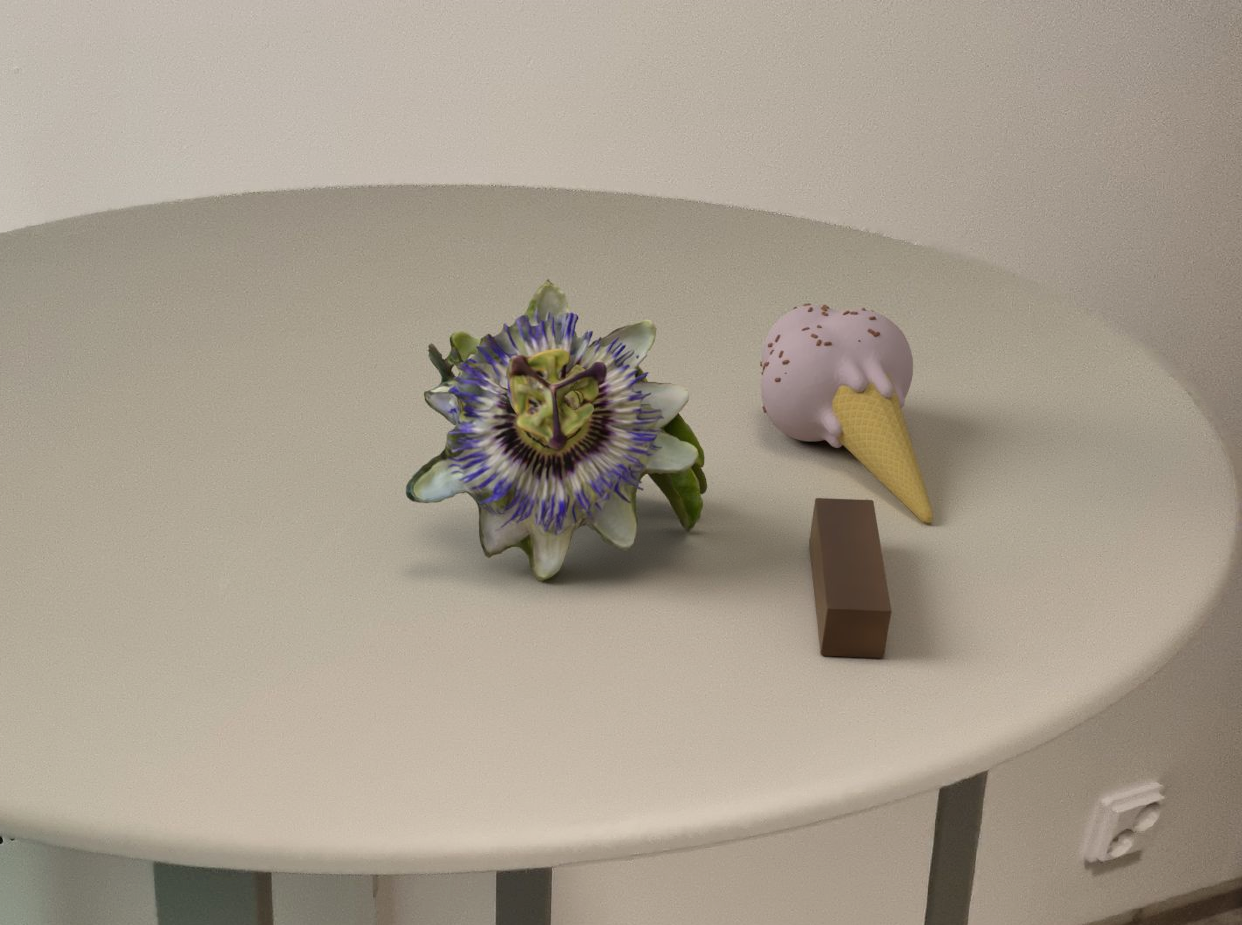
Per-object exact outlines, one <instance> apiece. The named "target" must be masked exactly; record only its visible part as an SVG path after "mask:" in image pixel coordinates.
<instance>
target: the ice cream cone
mask: <svg viewBox="0 0 1242 925" xmlns="http://www.w3.org/2000/svg"><path fill="white" fill-rule="evenodd" d="M910 346H911V345H910V344H909V342H908V339H907V338H906V335H905V334H904V332H903V331H902V330H901V328H900V327H899V326H898V324H896V323H895V322H893V321H892V320H890V319H889V318H888V317H886V316H885V315H883V314H881V313H879V312H876V311H874V310H867V309H866V308H865V307H862V308H861V309H850V310H844V311H838V310H835V309H833V308H831V307H829V306H828V305H827V304H823V305H817V304H811V303H809V302H808V303H804V304H803V305H802V306H799V307H797V306H793V308H792V310H790V311H788V312H786V313H785V314H784V315H782V316H781V317H780V318H779V319H778V320H777V321H776V322H775V323H774V324H773V326H772V327H771V329H770V330H769V332H768V333H767V336H766V338H765V340H764V343H763V347H762V352H761V360H760V363H759V366H760V367H762V371H761V380H760V394H761V401H762V410H763V413H764V414H766V415H767V417H768V419H769V420H770V422H771V423H772V424H773V425H774V426H775V428H777V430H779V431H780V432H781V433H782V434H784V435H785V436H787V437H790V438H791V439H795V440H798V441H800V442H801V441H802V442H822V441H826V442H827V443H828V444H829V445H830V446H831V447H833V448H835V449H839V448H841V447H842V446H844V448H846V450H847V451H849V452H850V453H851V454H852V455H853V456H854V457H855V458H856V459H857V460H858V461H859V462H860V463H861V464H862V465H863V466H864V467H865V468H866V469H867V470H868V471H869V472H870V473H872V475H873V476H875V478H877V479H878V481H880V482H881V483H882V484H883V485H884V487H886V488H887V489H888V490H889V491H890V492H891V493H892V494H893V495H894V496H895V497H896V498H897V499H898V500H899V501H900V502H901V503H902V504H903V505H904V506H905V507H906V508H908V510H909V511H910V512H912V513H913V514H914V515H915V516H916V517H917V518H918V519H919V520H920V521H921V522H923V523H925V524H930V523H931V522H932V521H933V519H934V513H933V509H932V506H931V502H930V499H929V496H928V493H927V489H926V486H925V483H924V479H923V476H922V472H921V470H920V467H919V463H918V459H917V456H916V453H915V449H914V446H913V443H912V439H911V437H910V433H909V430H908V427H907V423H906V420H905V417H904V413H903V408H904V406H905V400H906V397H907V395H908V394H909V390H910V388H911V384H912V381H913V374H914V358H913V354H912V353H913V352H912V350H911V347H910Z"/></svg>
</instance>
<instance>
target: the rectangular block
mask: <svg viewBox="0 0 1242 925" xmlns="http://www.w3.org/2000/svg"><path fill="white" fill-rule="evenodd" d="M808 543H809V553H810V563H811V571H812V581H813V584H812V585H813V592H814V604H815V614H816V623H817V624H816V625H817V633H818V634H817V635H818V643H819V654H820V656H827V657H828V656H829V657H847V658H849V657H850V658H869V659H870V658H872V659H883V658H884V657H885V653H886V645H887V641H888V635H889V630H890V629H889V628H890V622H891V617H892V606H891V600H890V594H889V588H888V582H887V574H886V569H885V562H884V555H883V551H882V546H881V538H880V532H879V526H878V520H877V514H876V507H875V502H874V500H873V499H855V498H854V499H852V498H828V497H827V498H826V497H825V498H824V497H816V498H815V499H814V505H813V512H812V519H811V526H810V533H809V541H808Z"/></svg>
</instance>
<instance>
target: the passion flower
mask: <svg viewBox="0 0 1242 925" xmlns="http://www.w3.org/2000/svg"><path fill="white" fill-rule="evenodd" d="M534 292H535V293H534V294H533V296H532V297H531V299H530V301H529V303H528V306H527V308H526V310H525V312H524V313H523V314H522V315H520V316H518V317H517V318H515V319H514V322H513V323H511V324H510V325H507V323H506V322H504V323H503V325H502V329H501V331H500V332H499V333H498V334H496V335H492V334H491V333H487V334H486V335H484V336H483V337H478V336H474V335H471V334H470V333H468V332H465V331H463V330H461V331H456V332H453V333H452V334H451V336H449V344H450V351H449V354H448V355H447V356H446V357H445V358H443V355H442V353H441V352H440V351H439V350H438V348H437V347H436V346H435V344H434V343H432V342H431V343H429V344H428V345H427V346H428V349H427V352H428V355H427V356H428V358H429V360H430V362H431V363H432V365H433V366H434V367H435V368H436V370H437V372H438V373H439V374H440V377H441V381H440V383H439V384H438V385H437V386H435V387H434V388H433V389H429V390H425V391H424V392H423V397H424V401H425V403H426V404H427V405H428V407H429V408H431V409H432V410H434V411H435V412H436V413H438V414H440V415H441V416H442V417H443V418H445V420H446V421H448V422H449V423H451V424H452V425H453V426H454V427H453V429H451V430H448V432H447V433H446V442H445V446H444V449H443V450H442V451H441V452H440V453H439V454H438V455H436V456H434V457H432V458H431V459H430V460H429V461H427V462H426V463H425V464H423V465H422V466H421V467H420V468H419V469H418V470H417V471H416V472H414V474H413V475H412V476H411V478H410V479H409V480H408V482H407V484H405V485H406V486H405V495H406V498H407V499H409V500H410V501H411V502H414V503H415V502H416V503H419V504H420V503H421V504H431V503H435V504H436V503H441V502H443V501H444V500H447V499H451V498H454V497H455V496H456V495H459V494H463V495H464V494H468V495H469V496H470V497H472V499H473V500H474V501H475V503H476V505H477V509H478V537H479V542H480V547H481V549H482V552H483V554H484V556H485V557H486V558H488V559H490V558H491V557H492V556H495V555H501V554H502V553H503V552H505V551H506V550H508V549H510V548H511V549H512V548H519V549H520V550H521V551H523V552H524V554H525V555H526V556H527V558H528V561H529V562H528V563H529V567H530V570H531V572H532V573H533V575H534V577H535V578H536V579H537V580H538V581H546V580H549V579H550V578H552V577H554V576H555V575H556V574H557V573H559V571H560V570H561V568H562V566H563V564H564V561H565V559H566V556H567V553H568V551H569V549H570V545H571V541H572V538H573V535H574V533H576V531H577V530H578V529H580V528H581V527H585V526H588V528H590V529H591V530H593V531H595V532H596V533H597V534H598V535H599V537H600V538H601V540H602V541H603V542H605V543H606V544H608V545H609V546H613V547H615V548H617V549H619V550H622V551H628V550H629V549H630V548H631V547H632V546H633V545H634V543H635V541H636V540H635V539H636V535H637V531H638V526H639V521H638V520H639V519H638V514H637V513H638V512H637V506H636V504H637V502H636V501H637V500H636V499H637V491H638V490H639V491H641V492H642V491H643V492H644V488H643V487H641V486H639V484H640V485H642V483H643V481H642V478H643V477H645V476H646V475H647V476H648V477H649V478H650V479H651V480H652V481H653V483H654V484H655V485H656V487H658V489H659V490H660V491H661V493H663V495H664V496H665V497H666V499H667V500H668V502H669V504H670V506H671V508H672V510H673V511H674V512H673V513H675V515H676V517H677V519H678V521H679V524H680V525H681V527H682V528H683V529H686V530H687V532H690V531H691V530H692V529H693V528H694V527H695V525H696V524H697V522H698V521H699V519H700V518H701V513H702V511H703V510H702V509H703V506H704V500H703V498H702V495H704V494H705V493H706V492H707V489H708V484H707V482H708V481H707V476H706V475H705V474H706V473H705V472H704V471H703V469H702V468H704V466H705V452H704V449H703V447H702V446H701V444H700V442H699V440H698V437H697V436H696V434H695V433H694V431H693V429H692V428H691V426H690V425H689V424H688V423H686V421H685V420H684V418H683V417H682V416H681V414H680V412H681V411H682V410H683V409H684V408H685V406H686V405H687V403H688V402H689V399H690V392H689V391H688V390H687V389H686V388H684V387H683V386H681V385H677V384H673V383H670V382H657V381H649V380H648V378H647V377H648V375H649V371H646V372H644V370H643V369H642V367H641V366H640V364H641V363H642V362H643V361H644V360H645V359H646V357H648V355H647V354H648V352H649V351H650V350H651V349H653V345H654V343H655V341H656V336H657V327H656V325H655V323H654V322H653V320H650V319H642V320H639V321H637V322H634V323H631V324H628V325H625V326H621V327H619V328H616V329H614V330H612V331H611V332H609V334H607V335H605V336H604V337H602V336H600V337H599V338H598V339H595V340H594V341H592V343H590V342H591V339H592V337H593V334H594V331H593V330H590V331H588V330H586V331H585V333H584V334H583V335H582V336H581V337H579V336H577V331H576V324H577V322H578V320H579V315H578V314H577V313H573V312H571V310H570V308H569V303H568V302H567V298H566V297H567V296H566V293H565V292H564V290H562V289H561V287H559V286H558V285H556V284H554V283H553V282H551V281H550V279H549V278H547V279H546V280H545V282H544V283H543V284H541V285H540V286H539V287H538V289H536V291H534ZM471 355H473V356H472V357H471V358H469V357H470V356H471ZM454 367H456V368H457V370H458V374H457V375H455V373H454V372H453V368H454Z"/></svg>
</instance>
